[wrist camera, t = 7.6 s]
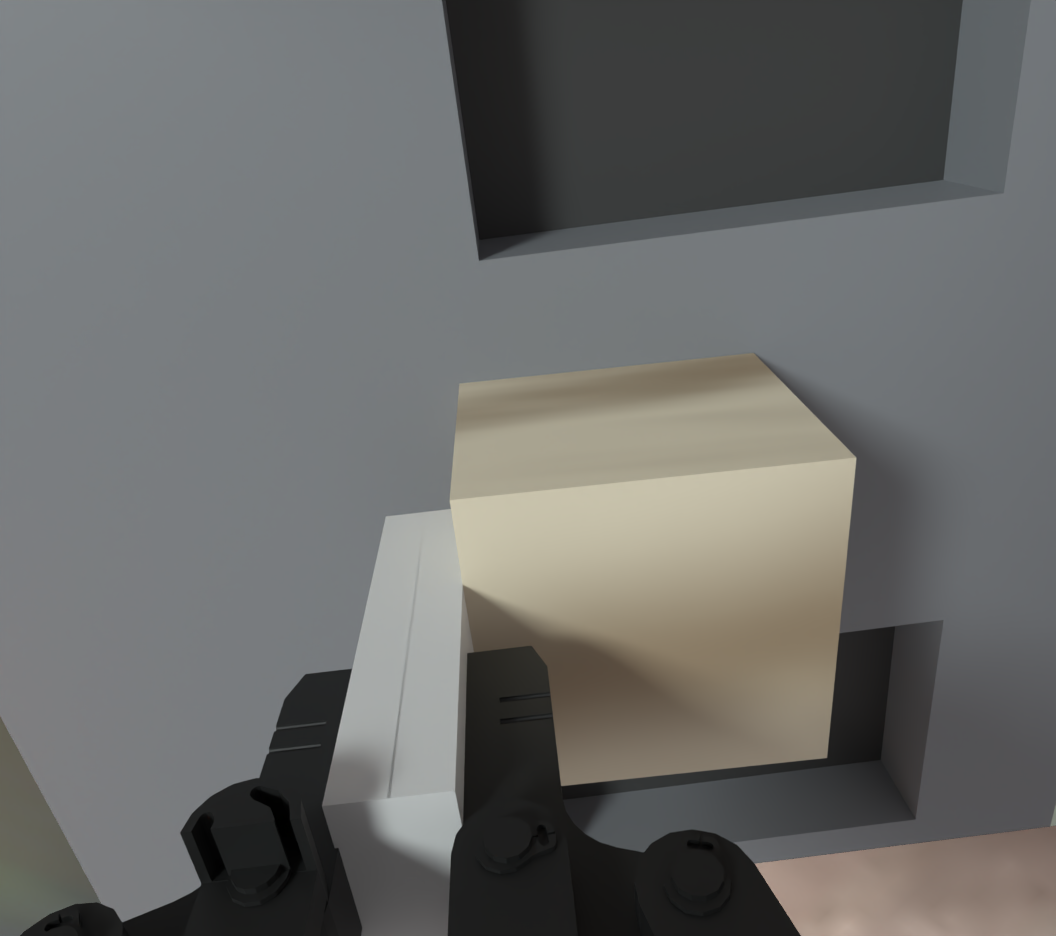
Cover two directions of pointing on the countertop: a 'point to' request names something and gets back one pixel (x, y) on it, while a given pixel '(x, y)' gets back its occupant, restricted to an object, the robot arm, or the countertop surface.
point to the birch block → (659, 559)
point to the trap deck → (512, 364)
